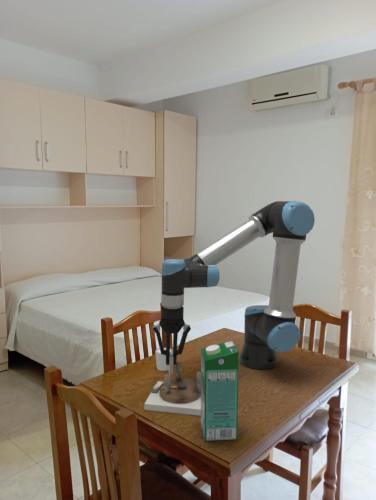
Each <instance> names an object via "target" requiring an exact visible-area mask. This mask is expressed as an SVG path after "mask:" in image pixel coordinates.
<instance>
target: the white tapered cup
mask: <svg viewBox="0 0 376 500" xmlns="http://www.w3.org/2000/svg"><path fill="white" fill-rule="evenodd" d="M164 350H166V347H164ZM154 352H155V361H156V362H155V364H156V369H157V371H162V372H166V371H169V365H166V355H162V354H161V351H160V347H159V348H157V349H155V350H154ZM170 354H173V348H170Z"/></svg>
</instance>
